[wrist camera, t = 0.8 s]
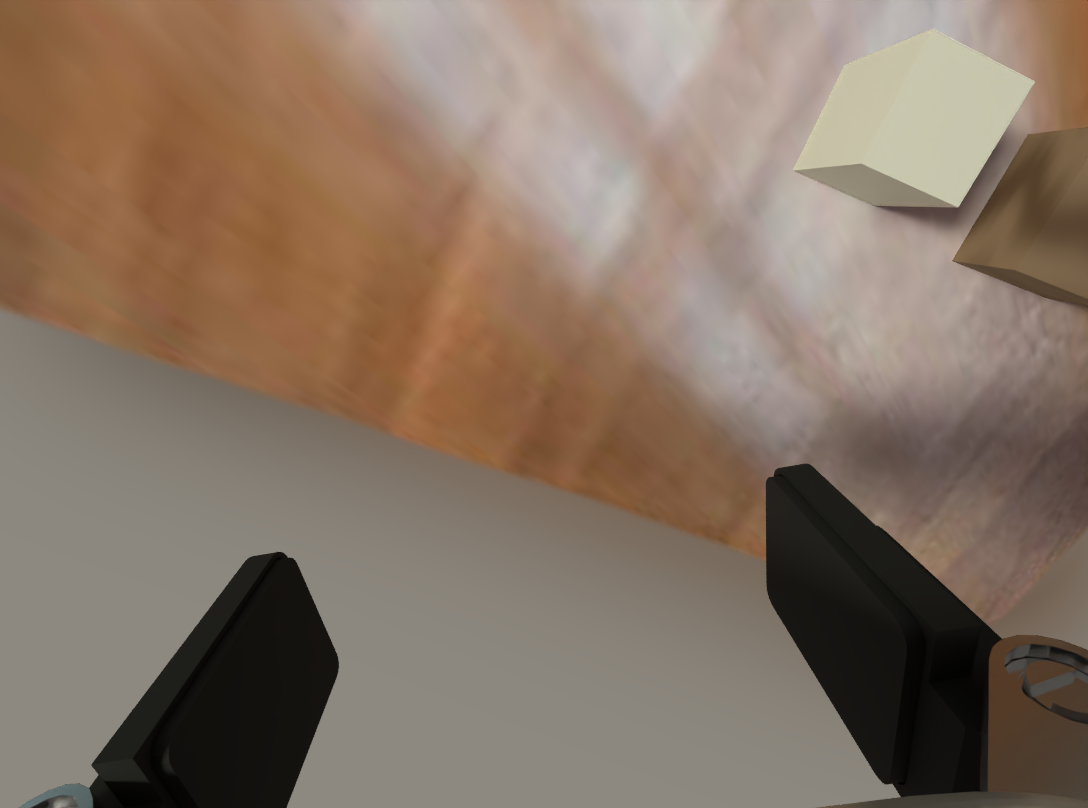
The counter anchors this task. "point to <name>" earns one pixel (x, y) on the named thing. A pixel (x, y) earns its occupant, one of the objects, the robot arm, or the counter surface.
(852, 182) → the cream block
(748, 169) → the counter surface
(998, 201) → the walnut block
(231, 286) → the counter surface
